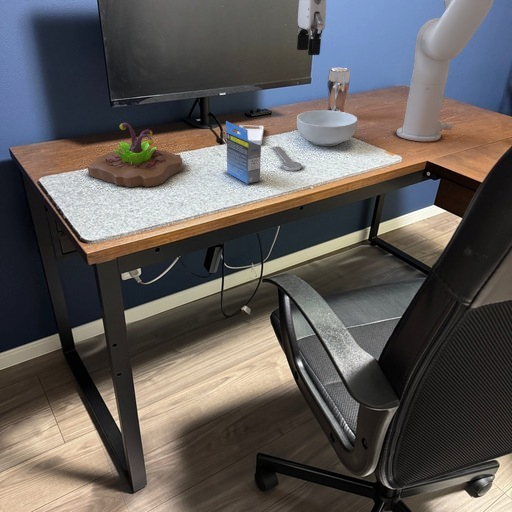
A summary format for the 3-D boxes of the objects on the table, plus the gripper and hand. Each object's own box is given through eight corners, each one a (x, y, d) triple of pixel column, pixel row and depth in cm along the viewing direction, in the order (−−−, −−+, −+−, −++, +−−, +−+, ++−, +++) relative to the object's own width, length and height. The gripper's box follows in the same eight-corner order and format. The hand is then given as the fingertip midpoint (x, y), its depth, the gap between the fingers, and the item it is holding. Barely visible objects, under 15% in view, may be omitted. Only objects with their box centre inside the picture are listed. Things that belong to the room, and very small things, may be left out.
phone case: (261, 145, 134) (263, 130, 147) (261, 140, 133) (263, 125, 146) (234, 144, 134) (239, 129, 147) (234, 139, 134) (239, 124, 147)
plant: (127, 152, 126) (122, 108, 121) (194, 163, 120) (192, 118, 114) (75, 178, 110) (66, 128, 105) (148, 192, 104) (143, 141, 98)
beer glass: (348, 115, 164) (354, 68, 157) (340, 120, 159) (345, 71, 151) (329, 112, 167) (334, 66, 160) (321, 116, 162) (325, 69, 155)
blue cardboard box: (261, 181, 111) (262, 127, 105) (247, 184, 109) (247, 130, 103) (239, 169, 117) (239, 118, 111) (225, 172, 115) (225, 120, 109)
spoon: (284, 148, 132) (284, 145, 132) (303, 170, 118) (303, 167, 117) (268, 148, 132) (268, 146, 131) (285, 171, 117) (285, 168, 117)
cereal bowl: (297, 132, 146) (299, 108, 143) (353, 135, 144) (356, 111, 141) (293, 149, 132) (295, 123, 128) (355, 153, 130) (359, 127, 126)
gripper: (338, -17, 121) (331, 56, 129) (315, -19, 135) (310, 48, 144) (310, -18, 119) (305, 57, 128) (289, -19, 134) (286, 48, 142)
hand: (307, 52), depth 136 cm, fingers open, 9 cm apart
